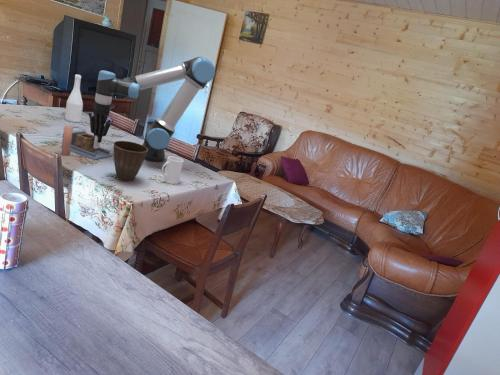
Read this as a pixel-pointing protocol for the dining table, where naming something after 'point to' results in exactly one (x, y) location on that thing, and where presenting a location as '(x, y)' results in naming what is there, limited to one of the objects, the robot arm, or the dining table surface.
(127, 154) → the plant pot
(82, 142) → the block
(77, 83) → the wine bottle
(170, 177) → the mug
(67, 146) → the dowel
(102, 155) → the rail board
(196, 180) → the dining table surface
